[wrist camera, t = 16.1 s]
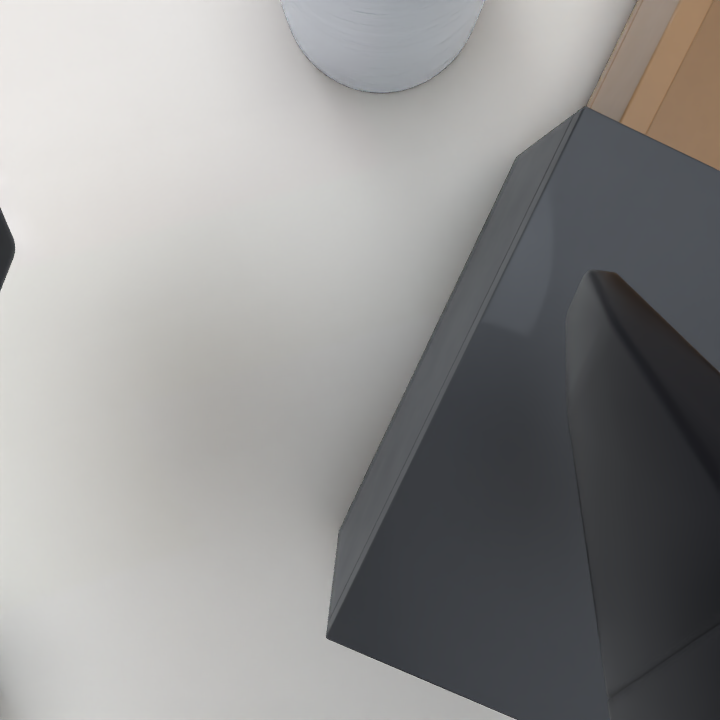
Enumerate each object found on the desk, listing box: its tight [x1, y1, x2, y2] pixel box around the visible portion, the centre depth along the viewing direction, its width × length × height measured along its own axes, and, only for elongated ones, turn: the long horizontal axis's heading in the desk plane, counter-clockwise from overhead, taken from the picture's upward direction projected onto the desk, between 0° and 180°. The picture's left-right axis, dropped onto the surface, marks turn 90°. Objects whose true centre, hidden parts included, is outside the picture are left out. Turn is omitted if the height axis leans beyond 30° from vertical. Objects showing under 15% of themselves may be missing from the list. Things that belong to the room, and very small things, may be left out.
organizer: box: [326, 106, 720, 720], centre depth 19 cm, size 15×14×7 cm
